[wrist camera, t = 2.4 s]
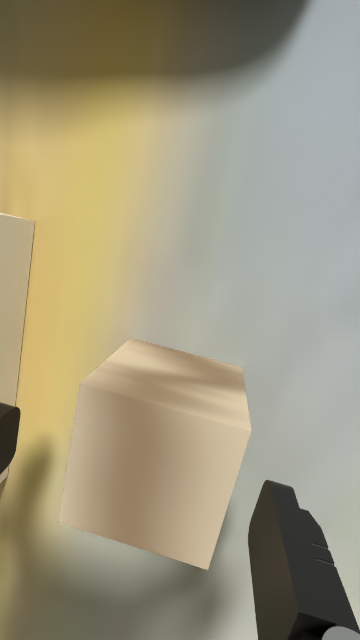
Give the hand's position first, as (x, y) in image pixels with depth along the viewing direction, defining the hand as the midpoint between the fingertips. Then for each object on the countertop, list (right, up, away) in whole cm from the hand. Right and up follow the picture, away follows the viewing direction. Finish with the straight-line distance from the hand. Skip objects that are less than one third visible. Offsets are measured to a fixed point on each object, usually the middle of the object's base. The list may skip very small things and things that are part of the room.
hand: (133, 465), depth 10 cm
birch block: (+1, +1, +4) cm, 5 cm away
